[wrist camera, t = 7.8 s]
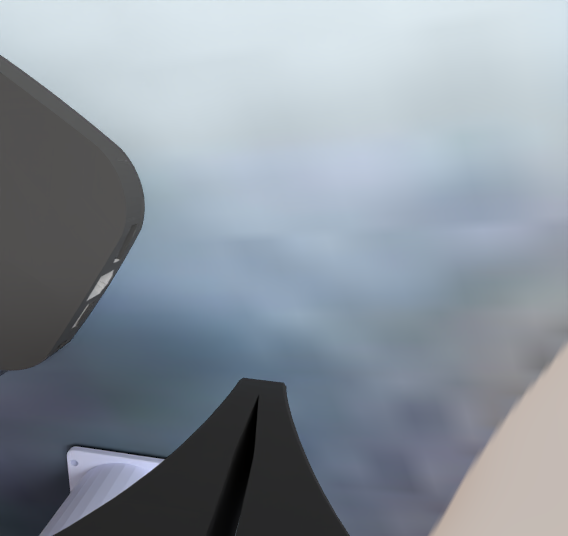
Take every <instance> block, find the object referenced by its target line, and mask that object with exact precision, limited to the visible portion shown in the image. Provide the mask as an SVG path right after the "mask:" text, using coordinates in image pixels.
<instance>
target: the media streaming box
mask: <svg viewBox="0 0 568 536" xmlns="http://www.w3.org/2000/svg"><path fill="white" fill-rule="evenodd" d="M144 211H145V203H144V194H143V189H142V186H141V182H140V179H139V177H138V174H137V172H136V170H135V168H134V166H133V164H132V163H131V161H130V160H129V158H128V157H127V155H126V154H125V153H124V152H123V150H122V149H121V148H120V147H118V146H117V145H116V144H115V143H114V142H113V141H111V140H110V139H109V138H108V137H107V136H105V135H104V134H103V133H102V132H101V131H99V130H98V129H97V128H96V127H95V126H93V125H92V124H91V123H90V122H89V121H87V120H86V119H85V118H84V117H82V116H81V115H80V114H79V113H77V112H76V111H75V110H74V109H72V108H71V107H70V106H68V105H67V104H66V103H65V102H63V101H62V100H61V99H59V98H58V97H57V96H56V95H54V94H53V93H52V92H50V91H49V90H48V89H46V88H45V87H44V86H42V85H41V84H40V83H38V82H37V81H36V80H34V79H33V78H32V77H30V76H29V75H28V74H26V73H25V72H23V71H22V70H21V69H19V68H18V67H17V66H15V65H14V64H12V63H11V62H10V61H8V60H7V59H5V58H4V57H2V56H1V55H0V370H22V369H27V368H30V367H33V366H36V365H38V364H39V363H41V362H42V361H44V360H45V359H47V358H48V357H49V356H51V355H52V354H53V353H55V352H56V351H58V350H59V349H60V348H62V347H63V346H64V345H66V344H67V343H68V342H70V340H71V339H72V338H73V336H74V335H75V334H76V332H77V331H78V330H79V328H80V327H81V326H82V324H83V323H84V322H85V320H86V319H87V317H88V316H89V314H90V313H91V312H92V310H93V309H94V307H95V306H96V304H97V303H98V301H99V300H100V298H101V297H102V295H103V294H104V292H105V290H106V289H107V287H108V286H109V284H110V283H111V281H112V279H113V278H114V276H115V274H116V273H117V271H118V269H119V268H120V266H121V264H122V263H123V261H124V259H125V257H126V256H127V254H128V252H129V250H130V249H131V247H132V245H133V243H134V241H135V240H136V238H137V236H138V234H139V232H140V230H141V228H142V224H143V219H144ZM84 316H85V317H84ZM82 319H83V320H82ZM80 322H81V323H80Z"/></svg>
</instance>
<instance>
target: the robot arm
mask: <svg viewBox="0 0 568 536" xmlns="http://www.w3.org/2000/svg"><path fill="white" fill-rule="evenodd" d="M67 463H68V473H69V484H70V494H69V496H68V497H67V498H66V500H65V501H64V502H63V504H62V505H61V506H60V508H59V509H58V511H57V512H56V513H55V515H54V516H53V517H52V519H51V520H50V521H49V523H48V524H47V525H46V527H45V528H44V530H43V531H42V532H41V534H40V535H39V536H235V534H236V536H350V535H349V534H348V532H347V531H346V529H345V528H344V526H343V525H342V523H341V521H340V520H339V518H338V517H337V515H336V513H335V512H334V510H333V508H332V506H331V505H330V503H329V501H328V499H327V498H326V496H325V494H324V492H323V490H322V488H321V486H320V484H319V483H318V481H317V479H316V477H315V475H314V472H313V470H312V468H311V466H310V464H309V462H308V459H307V457H306V455H305V452H304V450H303V447H302V445H301V442H300V440H299V437H298V434H297V431H296V428H295V425H294V422H293V419H292V416H291V412H290V408H289V404H288V399H287V392H286V386H285V384H284V383H281V382H273V381H265V380H256V379H248V378H242V379H241V380H239V382H238V383H237V385H236V386H235V387H234V389H233V390H232V391H231V393H230V394H229V395H228V396H227V398H226V399H225V400H224V401H223V402H222V404H221V405H220V406H219V407H218V408H217V409H216V410H215V411H214V413H213V414H212V415H211V416H210V417H209V418H208V419H207V420H206V421H205V422H204V423H203V424H202V425H201V426H200V427H199V428H198V429H197V430H196V431H195V432H194V433H193V434H192V435H191V436H190V437H189V438H188V439H187V440H186V441H185V442H184V443H183V444H182V445H181V446H180V447H179V448H177V449H176V450H175V451H174V452H173V453H172V454H171V455H170V456H168V457H167V458H166V459H159V458H152V457H146V456H139V455H132V454H125V453H118V452H112V451H105V450H98V449H91V448H84V447H78V446H74V447H72V448H71V449H70V450H69V451H68V452H67ZM239 519H240V520H239ZM238 522H239V524H238ZM237 526H238V528H237ZM236 530H237V532H236Z"/></svg>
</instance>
